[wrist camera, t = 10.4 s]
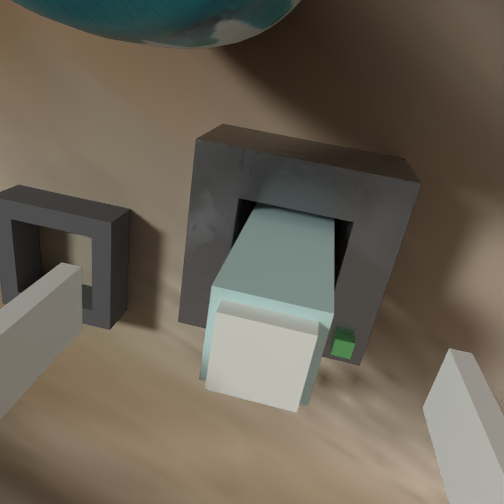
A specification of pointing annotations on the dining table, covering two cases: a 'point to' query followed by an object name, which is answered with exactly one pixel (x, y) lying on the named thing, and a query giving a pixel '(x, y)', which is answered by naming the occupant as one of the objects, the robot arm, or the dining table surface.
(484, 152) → the dining table surface
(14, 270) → the holster
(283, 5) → the vase
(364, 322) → the port panel
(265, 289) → the plug
